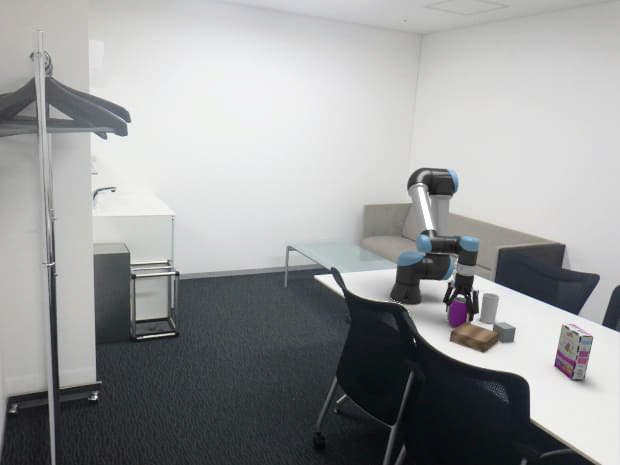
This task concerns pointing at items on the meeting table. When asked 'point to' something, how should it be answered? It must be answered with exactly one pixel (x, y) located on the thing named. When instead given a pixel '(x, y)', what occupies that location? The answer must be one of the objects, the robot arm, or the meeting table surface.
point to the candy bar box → (573, 351)
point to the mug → (489, 307)
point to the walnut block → (474, 336)
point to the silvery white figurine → (454, 272)
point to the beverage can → (458, 312)
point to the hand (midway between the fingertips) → (457, 323)
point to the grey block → (504, 332)
